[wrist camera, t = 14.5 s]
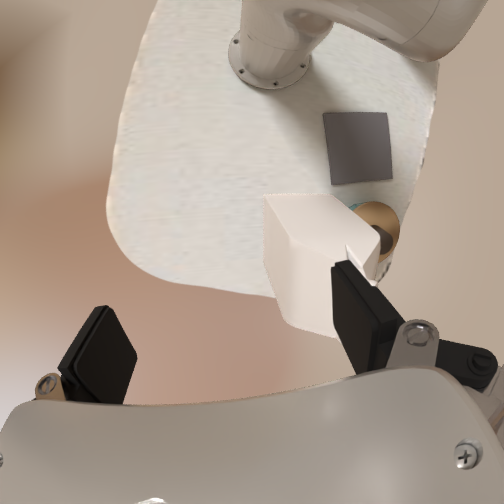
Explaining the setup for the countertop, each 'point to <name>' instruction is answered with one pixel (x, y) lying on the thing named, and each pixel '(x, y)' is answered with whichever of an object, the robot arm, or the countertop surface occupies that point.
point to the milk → (313, 254)
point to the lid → (381, 225)
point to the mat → (358, 146)
